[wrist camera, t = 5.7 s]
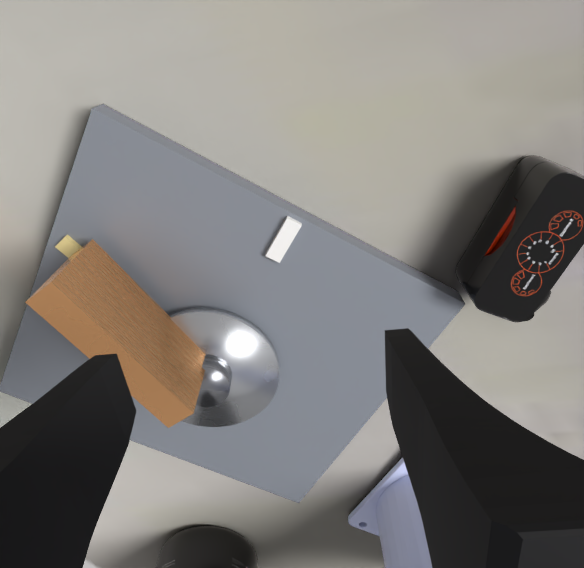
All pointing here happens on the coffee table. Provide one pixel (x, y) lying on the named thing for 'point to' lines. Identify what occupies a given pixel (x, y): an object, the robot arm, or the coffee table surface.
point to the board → (234, 299)
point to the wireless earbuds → (525, 240)
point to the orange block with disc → (161, 343)
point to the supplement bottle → (207, 549)
